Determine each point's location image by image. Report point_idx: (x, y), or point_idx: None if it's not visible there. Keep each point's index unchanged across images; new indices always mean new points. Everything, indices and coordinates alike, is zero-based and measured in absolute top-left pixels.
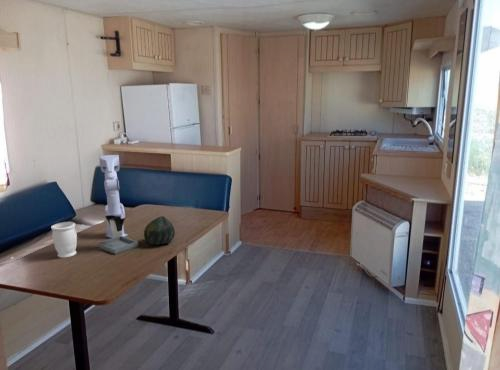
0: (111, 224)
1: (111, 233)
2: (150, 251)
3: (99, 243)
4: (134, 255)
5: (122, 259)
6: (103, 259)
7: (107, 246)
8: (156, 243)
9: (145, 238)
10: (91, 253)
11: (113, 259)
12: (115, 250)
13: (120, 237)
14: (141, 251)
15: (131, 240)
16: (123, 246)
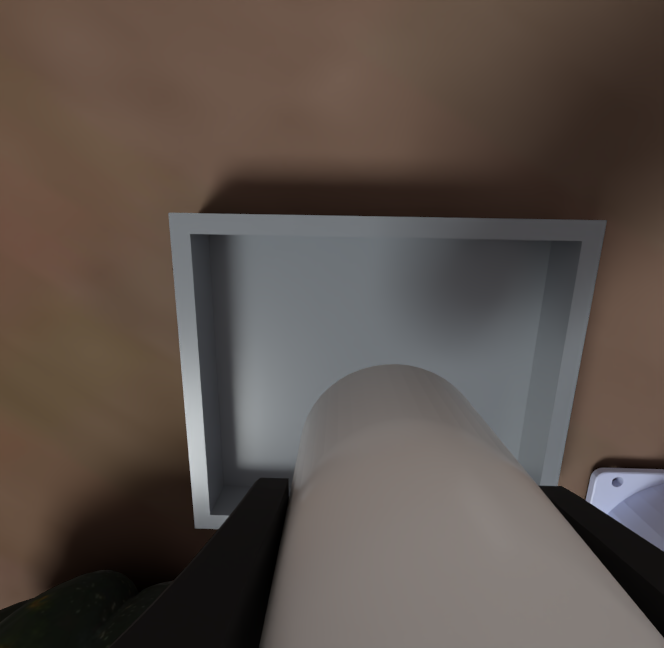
0: (437, 566)
1: (438, 387)
2: (6, 477)
3: (566, 220)
4: (19, 331)
5: (4, 186)
6: (168, 36)
7: (361, 224)
8: (28, 600)
9: None
10: (476, 50)
11: (78, 119)
12: (175, 225)
13: None
14: (69, 431)
15: None
16: (185, 349)
